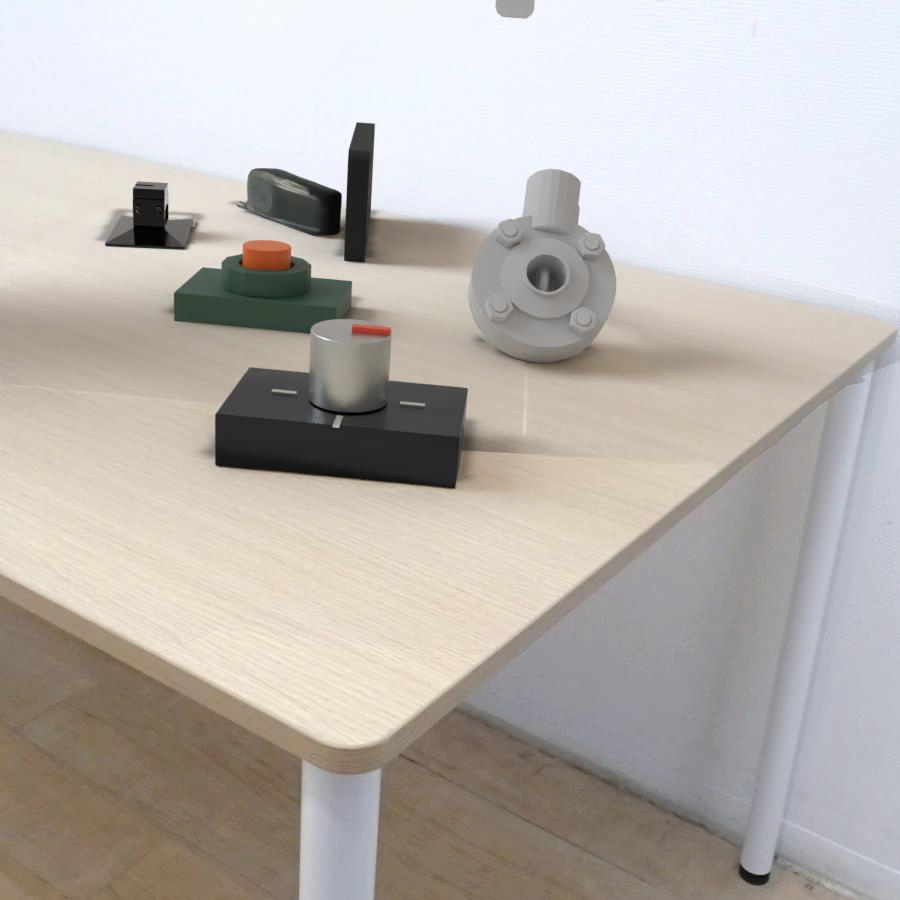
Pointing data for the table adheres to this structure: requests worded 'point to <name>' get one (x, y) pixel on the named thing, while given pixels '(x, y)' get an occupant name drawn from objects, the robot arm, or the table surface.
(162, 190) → the build plate
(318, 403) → the knob
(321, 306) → the button box
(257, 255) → the button
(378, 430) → the dial panel
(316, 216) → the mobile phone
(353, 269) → the table surface
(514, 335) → the mechanical valve
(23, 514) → the table surface
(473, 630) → the table surface
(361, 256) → the nameplate
